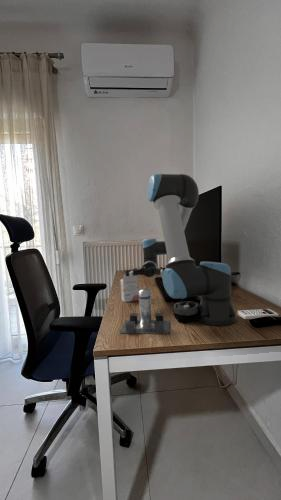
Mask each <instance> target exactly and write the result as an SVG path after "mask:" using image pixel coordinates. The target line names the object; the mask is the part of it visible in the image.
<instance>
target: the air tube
mask: <svg viewBox="0 0 281 500" xmlns="http://www.w3.org/2000/svg"><path fill="white" fill-rule="evenodd" d="M138 292H139V300H138V308H139V309H138V310H139V311H138V312H139V320H140V327H141V328H150V327H151V320H152V310H151V309H152V305H151V303H152V302H151V289H150V288H141V289H138Z"/></svg>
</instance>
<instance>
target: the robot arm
mask: <svg viewBox="0 0 281 500" xmlns="http://www.w3.org/2000/svg"><path fill="white" fill-rule="evenodd" d="M199 193H200V191H199V187H198V184H197V182H196V181H195V179H194V178H193V177H191V176H190V175H187V174H183V173H181V174H176V173H174V174H173V173H171V174H170V173H166V174H164V173H156V174H152V175H151V176H150V178H149V181H148V185H147V200H148V201H149V202H150V203H152V202H153V206H154V208H155V209H157V210H158V214H159V215H158V216H159V219H160V220H159V221H160V225H161V230H162V234H163V239H164V240H162V241H157V238H145V239H143V241H142V253H143V255H142V256H143V265H142V267H139V269H138V268H137V267H135V268H132V269H128V270H125V275H126V276H128V278H130V279H132V277H133V276H135V275H137V276H144V277H147V278H152V277H154V276H155V275H160V278H162V283H163V287H164V289H165V292H166V294H167V295H168V296H169V297H170V298H172V299H176V300H177V299H185V298H186V299H187V298H192V297H194V298H195V297H200V303H199V311H200V312H199V317H200V319H199V320H198V321H199V323H200V322H201V323H203V324H205V325H210V326H216V327H217V326H218V327H221V326H230V325H233V324H235V323H236V322H237V321H238V320H237V319H238V318H237V313H236V309H235V308H234V304H233V302H232V271H231V266H230V265H229V264H227V263H225V262H224V263H223V262H216V261H200V263H199V265H196V261H195V260H196V259H193V258H192V257H191V256H190V251H189V248H188V243H187V240H186V234H185V230H186V228H187V224H188V222H189V219H190V216H191V213H192V211H193V209H194V208H196V206H197V203H198V201H199V197H200V195H199ZM163 255H166V256H167V263H166V264H165V267H162V266H159V265H158V256H163Z"/></svg>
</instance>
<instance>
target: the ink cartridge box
mask: <svg viewBox="0 0 281 500" xmlns="http://www.w3.org/2000/svg"><path fill="white" fill-rule="evenodd" d="M138 290H139V279H138V275H135V276H133V277H132V279H130V278H129V276H126V274H123V275H122V279H120V293H121V301H122V302H124V303H128V302H134V301H139V291H138Z"/></svg>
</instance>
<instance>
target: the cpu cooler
mask: <svg viewBox="0 0 281 500" xmlns="http://www.w3.org/2000/svg"><path fill="white" fill-rule="evenodd" d="M199 305H200V303H198V302H196V301H190V300H188V301H181V302H176V303H173V310H172V311H173V317H174V318H175V319H176V321H177V322H178V323H179V324H180V323H181V324H183V323H190V322H193V321H194V322H195V321H199V319H200V317H199V312H200V311H199Z"/></svg>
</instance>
